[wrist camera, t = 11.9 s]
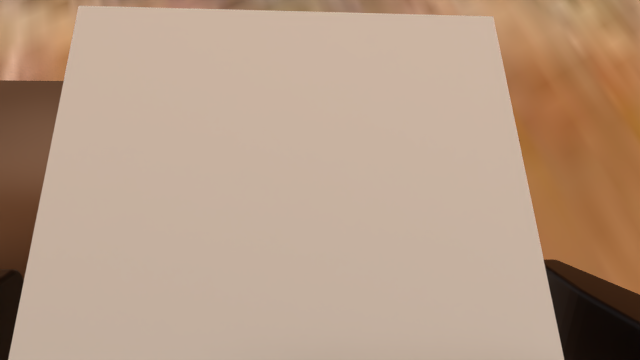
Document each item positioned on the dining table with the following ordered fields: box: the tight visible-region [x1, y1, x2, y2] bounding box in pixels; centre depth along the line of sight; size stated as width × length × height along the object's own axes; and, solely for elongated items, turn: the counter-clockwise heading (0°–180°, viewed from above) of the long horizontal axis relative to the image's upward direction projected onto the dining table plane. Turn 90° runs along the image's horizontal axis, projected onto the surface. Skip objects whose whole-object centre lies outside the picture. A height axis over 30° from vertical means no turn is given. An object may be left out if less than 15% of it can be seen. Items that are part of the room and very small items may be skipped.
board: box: [0, 81, 64, 280], centre depth 16 cm, size 18×24×1 cm
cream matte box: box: [8, 6, 564, 360], centre depth 11 cm, size 6×6×10 cm
